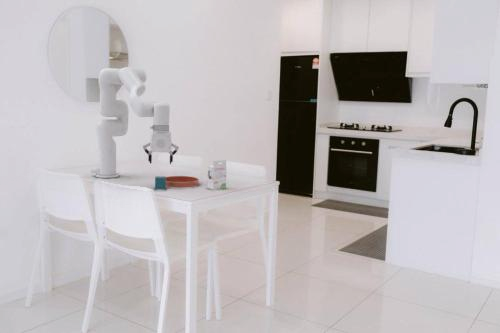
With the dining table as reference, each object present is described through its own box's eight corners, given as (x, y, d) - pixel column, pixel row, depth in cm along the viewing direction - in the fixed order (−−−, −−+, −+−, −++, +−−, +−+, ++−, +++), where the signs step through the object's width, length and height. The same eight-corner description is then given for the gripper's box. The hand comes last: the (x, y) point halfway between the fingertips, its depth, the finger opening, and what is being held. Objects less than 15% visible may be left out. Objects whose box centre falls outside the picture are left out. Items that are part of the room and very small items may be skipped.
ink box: (220, 186, 244) (221, 158, 241) (226, 188, 240) (227, 159, 238) (206, 188, 238) (207, 159, 236) (212, 190, 234) (213, 160, 232)
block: (155, 190, 230) (155, 178, 229) (155, 188, 234) (155, 176, 234) (165, 190, 230) (165, 178, 229) (165, 188, 235) (165, 176, 234)
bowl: (161, 188, 235) (161, 182, 234) (162, 181, 254) (162, 175, 253) (199, 188, 238) (200, 182, 238) (197, 181, 257) (198, 176, 256)
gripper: (142, 128, 224) (142, 164, 227) (179, 129, 227) (178, 164, 230) (143, 127, 232) (143, 161, 234) (179, 128, 234) (178, 162, 237)
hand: (160, 163), depth 232 cm, fingers open, 9 cm apart
